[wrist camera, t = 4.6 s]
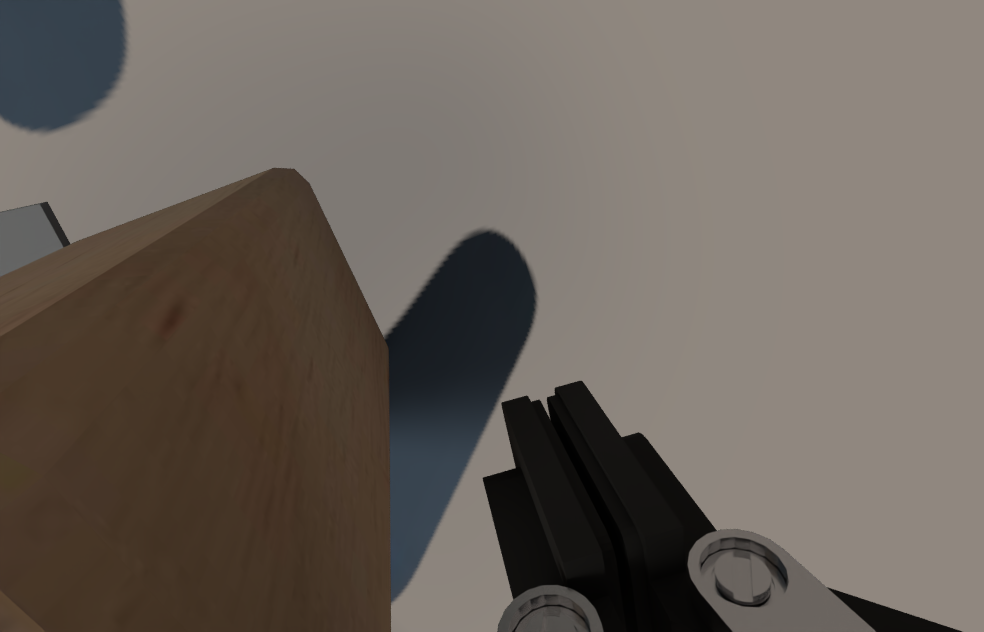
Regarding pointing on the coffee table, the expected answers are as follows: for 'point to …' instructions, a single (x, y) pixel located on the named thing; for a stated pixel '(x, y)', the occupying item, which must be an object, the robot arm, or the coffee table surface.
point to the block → (195, 426)
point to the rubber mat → (28, 236)
